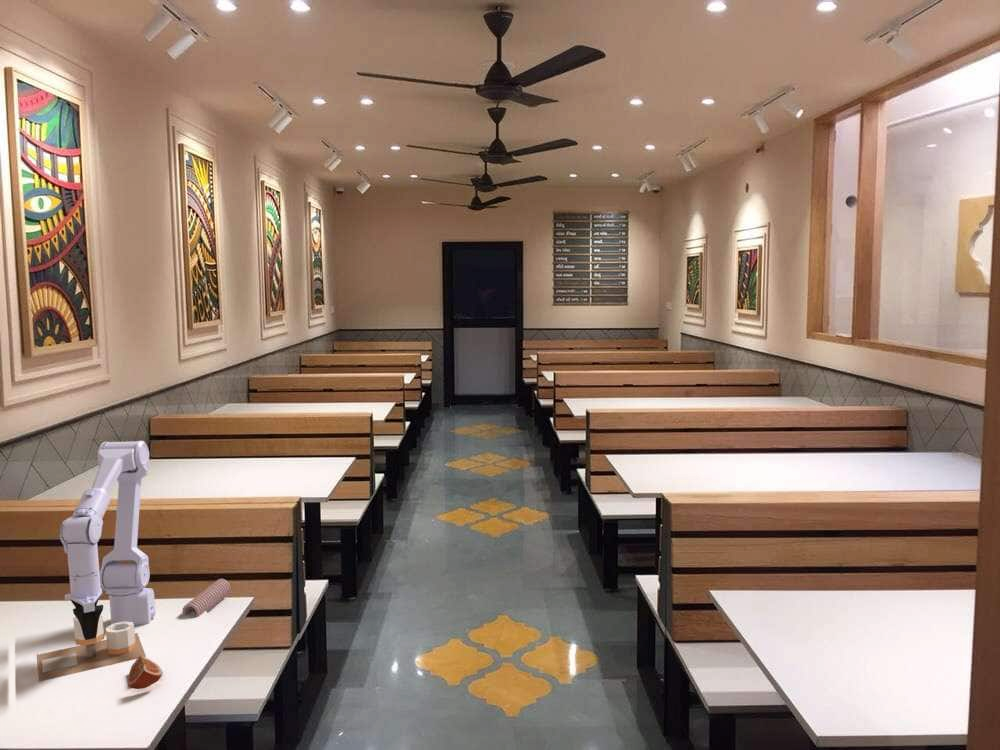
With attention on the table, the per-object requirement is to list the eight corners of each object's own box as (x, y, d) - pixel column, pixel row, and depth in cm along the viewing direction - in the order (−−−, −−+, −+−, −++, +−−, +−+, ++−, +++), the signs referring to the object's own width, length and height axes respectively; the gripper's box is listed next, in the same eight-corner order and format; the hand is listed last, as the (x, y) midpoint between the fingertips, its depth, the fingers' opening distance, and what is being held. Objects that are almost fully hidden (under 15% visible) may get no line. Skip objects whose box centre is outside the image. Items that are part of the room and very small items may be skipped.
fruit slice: (126, 680, 167) (124, 657, 166) (161, 672, 170) (159, 649, 169) (128, 698, 160) (126, 674, 159) (165, 690, 163) (163, 666, 162)
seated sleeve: (106, 647, 179) (105, 625, 178) (133, 641, 182) (132, 619, 181) (109, 656, 174) (107, 634, 174) (136, 650, 177) (135, 628, 177)
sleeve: (74, 638, 176) (72, 615, 175) (102, 632, 178) (100, 610, 178) (76, 647, 171) (74, 624, 170) (105, 641, 174) (103, 618, 173)
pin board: (137, 639, 186) (136, 616, 186) (146, 663, 174) (144, 639, 174) (37, 661, 176) (35, 637, 176) (39, 688, 164) (37, 663, 164)
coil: (198, 606, 194) (232, 578, 212) (180, 603, 195) (215, 576, 212) (198, 625, 195) (231, 595, 212) (179, 622, 195) (214, 593, 213)
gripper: (61, 565, 177) (66, 625, 179) (65, 586, 165) (70, 650, 166) (97, 559, 181) (101, 618, 182) (103, 579, 168) (108, 642, 170)
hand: (89, 633), depth 174 cm, fingers closed on sleeve, 5 cm apart
